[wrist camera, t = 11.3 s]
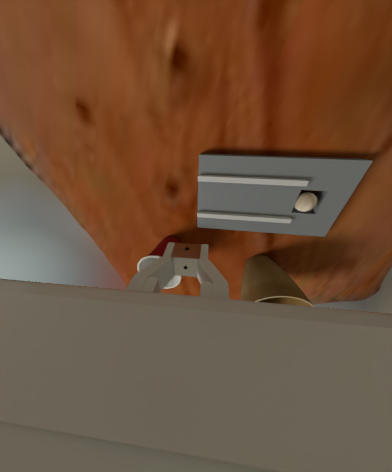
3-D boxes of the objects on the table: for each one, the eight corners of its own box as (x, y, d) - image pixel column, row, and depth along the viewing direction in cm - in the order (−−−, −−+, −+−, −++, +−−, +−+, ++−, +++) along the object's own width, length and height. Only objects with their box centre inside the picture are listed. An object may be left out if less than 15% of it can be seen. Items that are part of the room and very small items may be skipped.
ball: (306, 195, 28) (326, 196, 28) (294, 189, 31) (312, 189, 31) (297, 214, 30) (315, 215, 30) (286, 206, 33) (303, 207, 34)
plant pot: (243, 283, 51) (252, 335, 38) (226, 254, 44) (231, 305, 31) (290, 273, 45) (320, 329, 32) (279, 237, 39) (312, 290, 26)
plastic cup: (159, 222, 40) (141, 250, 30) (195, 238, 42) (188, 270, 32) (149, 248, 46) (131, 279, 36) (180, 261, 48) (171, 294, 38)
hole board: (200, 153, 30) (198, 155, 27) (361, 158, 27) (379, 161, 24) (198, 222, 39) (196, 229, 36) (318, 231, 36) (327, 239, 33)
